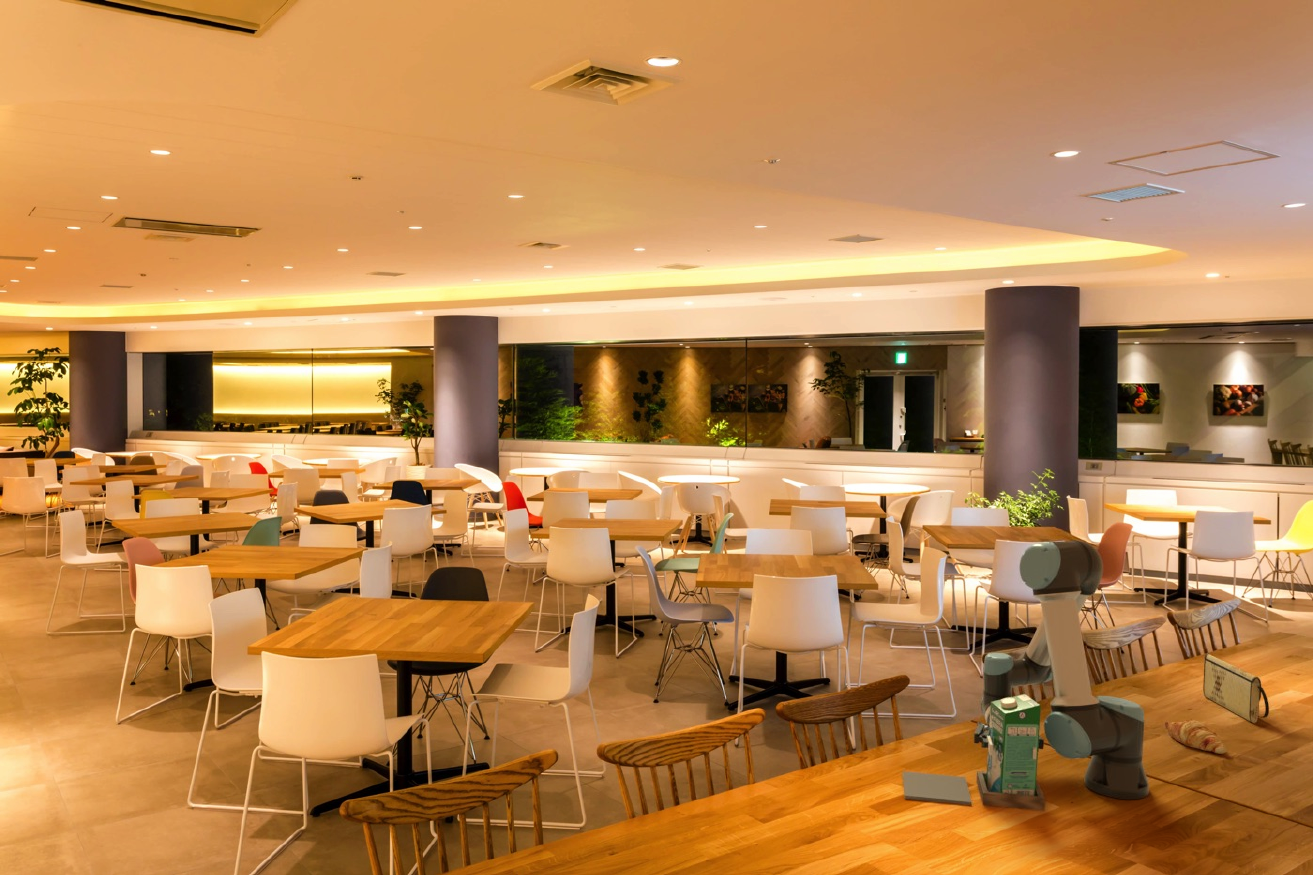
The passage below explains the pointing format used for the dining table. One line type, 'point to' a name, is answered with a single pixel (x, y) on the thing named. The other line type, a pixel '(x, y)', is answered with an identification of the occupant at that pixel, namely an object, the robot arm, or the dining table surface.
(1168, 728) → the croissant
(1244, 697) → the clutch purse
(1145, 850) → the dining table surface
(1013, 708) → the milk carton
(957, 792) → the slate coaster
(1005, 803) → the frame
